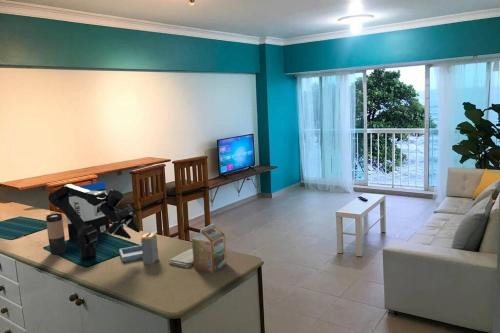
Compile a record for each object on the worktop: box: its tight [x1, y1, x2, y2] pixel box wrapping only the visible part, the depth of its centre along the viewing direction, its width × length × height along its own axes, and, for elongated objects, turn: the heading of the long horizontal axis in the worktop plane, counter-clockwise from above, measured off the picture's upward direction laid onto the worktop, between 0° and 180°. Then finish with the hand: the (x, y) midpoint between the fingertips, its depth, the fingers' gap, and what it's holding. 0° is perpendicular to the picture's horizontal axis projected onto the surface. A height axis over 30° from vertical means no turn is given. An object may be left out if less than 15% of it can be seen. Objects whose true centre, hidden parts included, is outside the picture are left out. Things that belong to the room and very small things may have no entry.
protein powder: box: [66, 180, 111, 241], centre depth 241 cm, size 10×24×30 cm, turn 132°
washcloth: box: [168, 248, 194, 268], centre depth 197 cm, size 12×18×3 cm, turn 151°
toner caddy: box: [140, 232, 159, 264], centre depth 197 cm, size 5×6×14 cm
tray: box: [118, 244, 143, 263], centre depth 206 cm, size 13×13×3 cm
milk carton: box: [191, 223, 228, 274], centre depth 186 cm, size 11×11×19 cm
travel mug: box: [45, 213, 67, 256], centre depth 214 cm, size 8×8×20 cm
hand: (135, 235), depth 197 cm, fingers open, 9 cm apart
